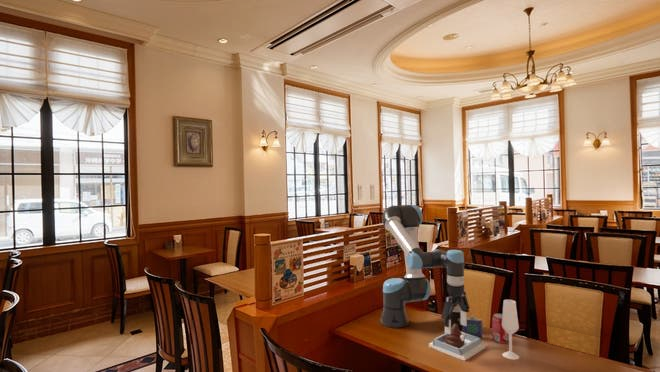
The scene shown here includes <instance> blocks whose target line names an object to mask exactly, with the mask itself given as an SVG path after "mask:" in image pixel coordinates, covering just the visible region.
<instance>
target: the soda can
mask: <svg viewBox="0 0 660 372" xmlns="http://www.w3.org/2000/svg"><path fill="white" fill-rule="evenodd" d="M502 314H503V313H494V314H493V315H492V319H491V330H492V339H493V340H494V341H495V342H497V343H501V344H502V343H503V344H504V343H507V342H509V334H508V333H507V332H506V331H505V330H504V329H503V327H502Z"/></svg>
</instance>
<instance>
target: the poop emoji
mask: <svg viewBox="0 0 660 372" xmlns="http://www.w3.org/2000/svg"><path fill="white" fill-rule="evenodd" d="M460 331H461V330H459V328H458V326H457V324H455V323H454V325H453V326H452V327H451V334H447V336H446V344H448V345H451V346H454V347H456V348H461V347H462V346H463V345H464V340H465V333H463V331H461V332H460Z"/></svg>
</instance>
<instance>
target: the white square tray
mask: <svg viewBox="0 0 660 372" xmlns="http://www.w3.org/2000/svg"><path fill="white" fill-rule="evenodd" d="M460 332H463V331H462V330H460ZM463 333H464V332H463ZM446 336H447V333H445V332H444V333H443V334H441V335H438V336H437V337H434V338H433V339H432V341H431V342H430V343H428V347H429V348H431V347H432V349H433V348H434V350H435V351H438V352H440V353H444V354H445V355H446V354H447V355H449V356H451V357H453V358H456V359H458V360H462V361H464V362H465V361H467V360H468V359H470V358H471V357H473V356H474V355H477V354H478V353H480V352H481V351H483V350H484V349H486V344H484V343H482V342H481V340H482V338H479V337H476V336H473V335H470V334H467V333H465V340H464V345H463V346H462V347H461V348H456V347H454V346H451V345H448V344H446Z"/></svg>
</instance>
